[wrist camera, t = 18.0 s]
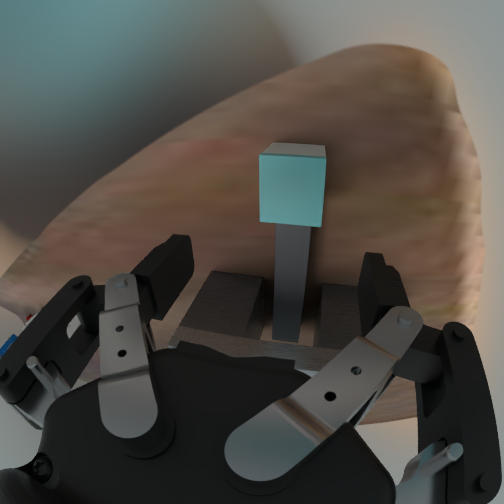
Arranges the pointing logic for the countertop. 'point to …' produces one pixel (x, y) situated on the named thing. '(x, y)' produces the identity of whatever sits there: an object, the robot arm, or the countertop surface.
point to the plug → (291, 223)
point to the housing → (251, 322)
